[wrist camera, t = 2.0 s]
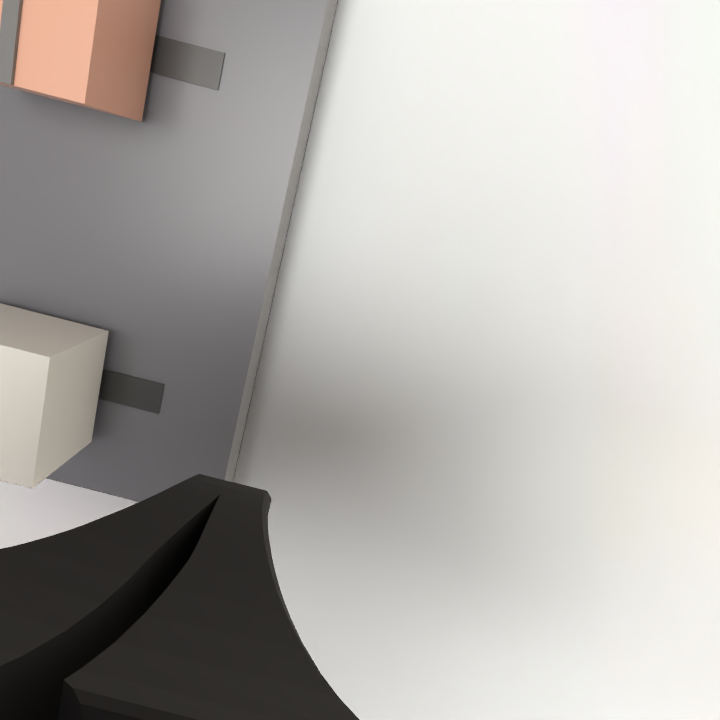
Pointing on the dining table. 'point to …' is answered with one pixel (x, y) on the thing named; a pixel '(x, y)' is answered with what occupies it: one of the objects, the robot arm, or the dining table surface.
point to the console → (167, 230)
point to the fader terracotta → (80, 51)
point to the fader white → (45, 392)
